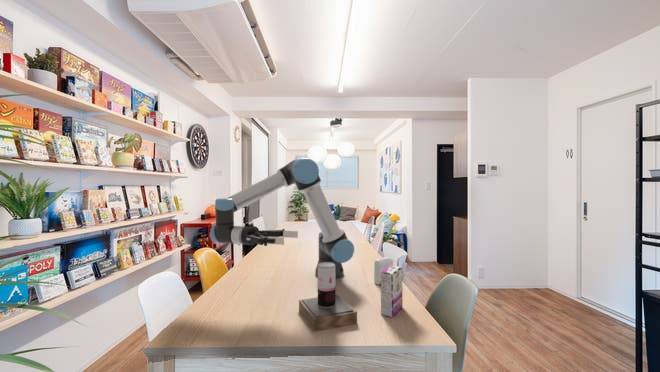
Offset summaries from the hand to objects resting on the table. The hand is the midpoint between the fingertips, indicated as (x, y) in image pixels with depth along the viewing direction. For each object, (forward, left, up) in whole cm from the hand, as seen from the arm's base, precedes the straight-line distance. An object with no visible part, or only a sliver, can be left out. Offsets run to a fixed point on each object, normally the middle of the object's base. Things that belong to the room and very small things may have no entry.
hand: (290, 237), depth 126 cm
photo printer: (-49, -9, -28) cm, 57 cm away
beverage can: (-9, +16, -23) cm, 29 cm away
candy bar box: (-34, +21, -28) cm, 49 cm away
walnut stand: (-9, +16, -27) cm, 33 cm away
